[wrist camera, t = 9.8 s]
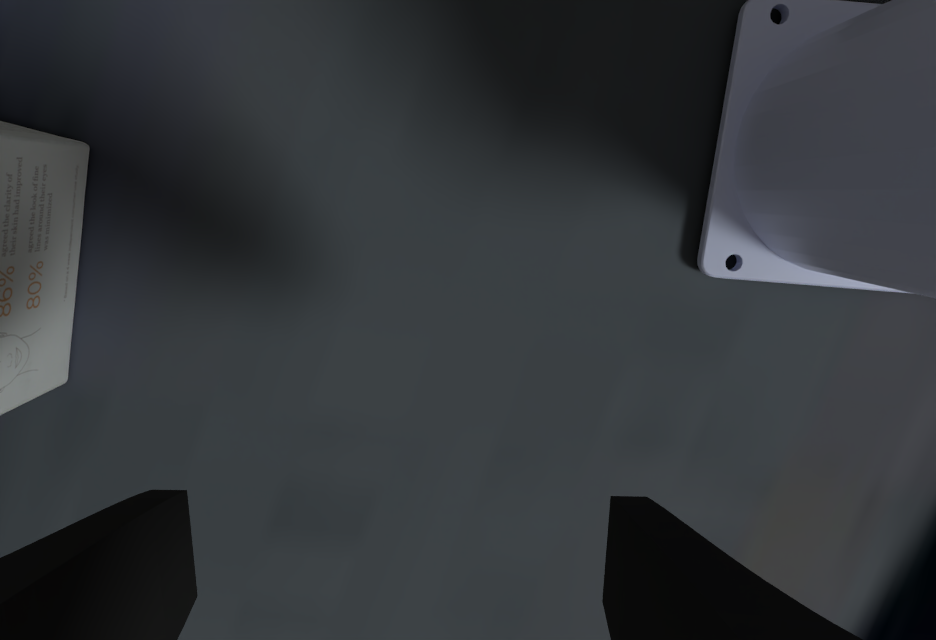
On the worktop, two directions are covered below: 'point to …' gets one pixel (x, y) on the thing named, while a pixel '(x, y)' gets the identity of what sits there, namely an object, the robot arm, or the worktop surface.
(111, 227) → the worktop surface
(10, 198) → the small box
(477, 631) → the worktop surface
